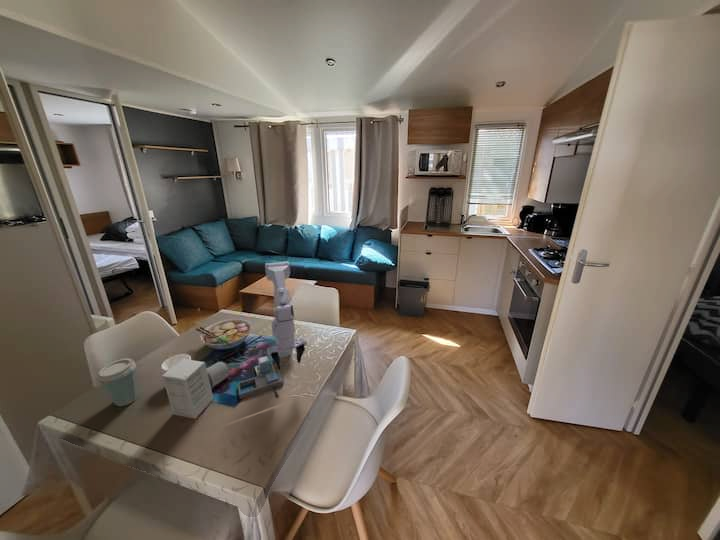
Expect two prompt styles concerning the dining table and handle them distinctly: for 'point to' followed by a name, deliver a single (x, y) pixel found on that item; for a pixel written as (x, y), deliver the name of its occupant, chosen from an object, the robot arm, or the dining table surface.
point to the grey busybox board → (262, 384)
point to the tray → (266, 373)
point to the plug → (264, 365)
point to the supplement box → (188, 388)
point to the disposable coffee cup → (120, 381)
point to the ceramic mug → (217, 373)
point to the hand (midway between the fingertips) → (288, 364)
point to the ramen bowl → (226, 333)
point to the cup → (173, 361)
